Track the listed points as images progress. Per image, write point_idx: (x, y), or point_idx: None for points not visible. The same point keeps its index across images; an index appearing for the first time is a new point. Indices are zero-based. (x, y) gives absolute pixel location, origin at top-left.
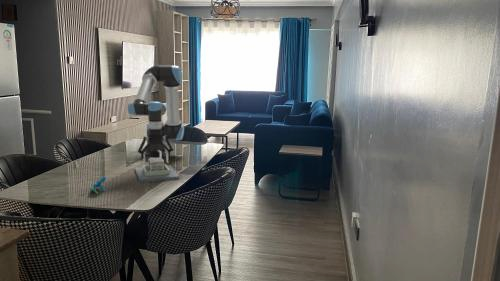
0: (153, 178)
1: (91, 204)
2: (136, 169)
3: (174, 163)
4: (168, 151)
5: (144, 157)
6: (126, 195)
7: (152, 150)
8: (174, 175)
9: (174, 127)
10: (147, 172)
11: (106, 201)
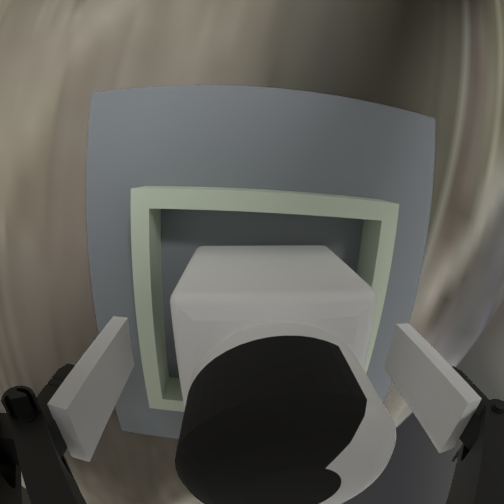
0: None
1: None
2: (94, 163)
3: (459, 38)
4: (462, 454)
5: (100, 423)
6: (97, 498)
7: (226, 461)
8: None
9: None
10: (165, 405)
11: None
